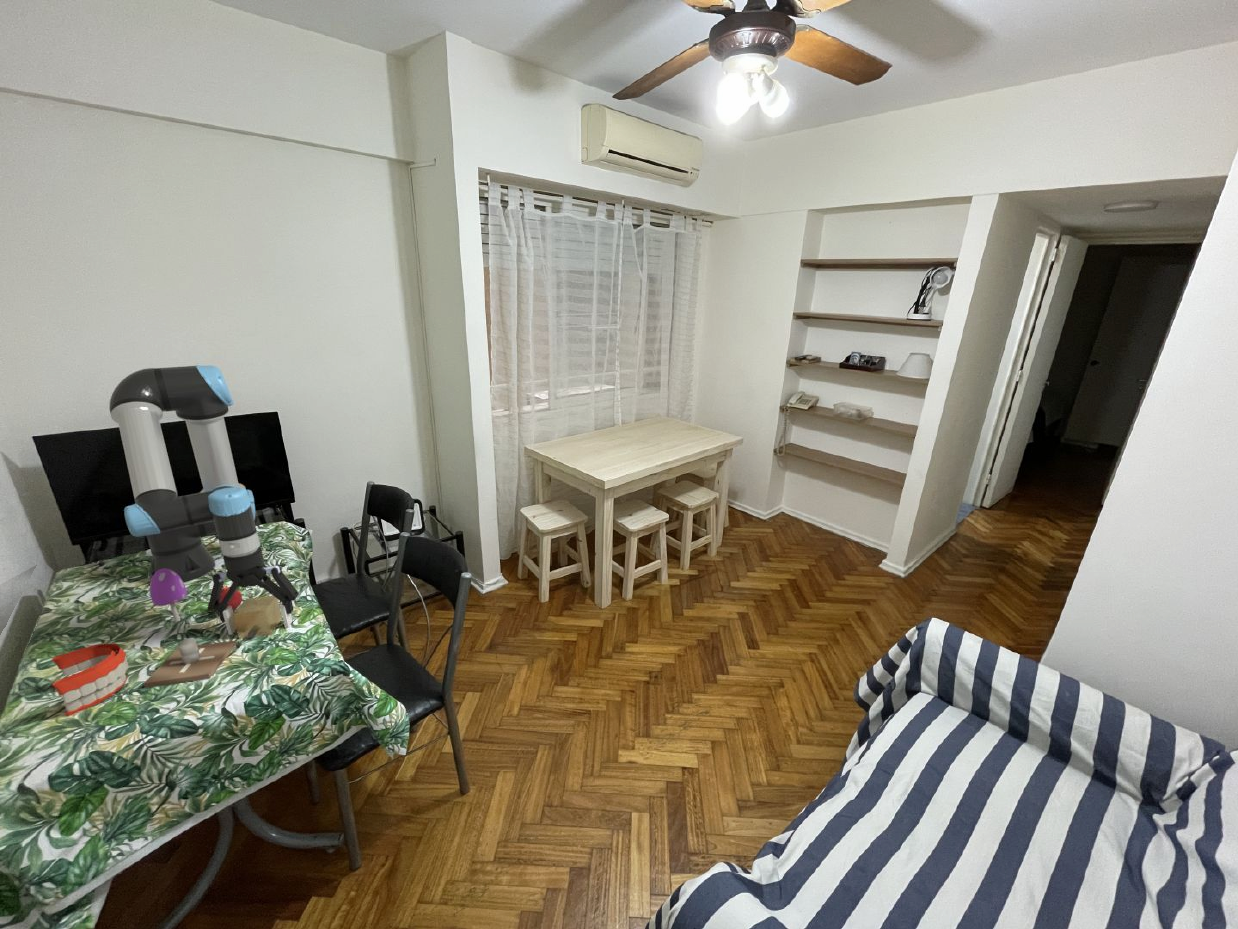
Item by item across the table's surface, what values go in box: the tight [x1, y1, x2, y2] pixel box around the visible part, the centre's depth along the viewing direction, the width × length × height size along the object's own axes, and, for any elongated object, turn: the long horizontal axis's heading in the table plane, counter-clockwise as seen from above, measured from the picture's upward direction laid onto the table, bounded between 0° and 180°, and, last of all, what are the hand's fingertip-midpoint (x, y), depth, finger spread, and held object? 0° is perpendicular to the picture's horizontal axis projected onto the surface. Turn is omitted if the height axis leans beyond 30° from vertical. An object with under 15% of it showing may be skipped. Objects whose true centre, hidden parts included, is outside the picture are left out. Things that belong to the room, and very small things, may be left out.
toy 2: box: [149, 569, 188, 623], centre depth 127 cm, size 7×7×15 cm
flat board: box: [143, 637, 237, 689], centre depth 112 cm, size 12×12×6 cm
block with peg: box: [233, 595, 283, 639], centre depth 125 cm, size 10×7×7 cm
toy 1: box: [51, 643, 129, 717], centre depth 104 cm, size 12×10×8 cm
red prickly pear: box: [219, 584, 243, 612], centre depth 131 cm, size 6×6×8 cm
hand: (261, 627), depth 125 cm, fingers open, 12 cm apart
